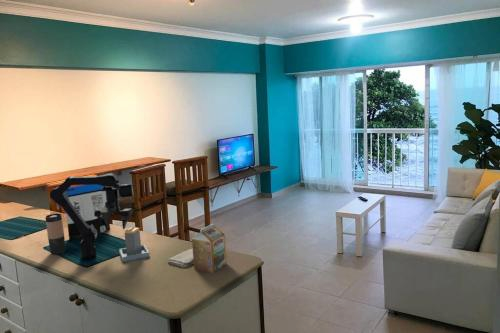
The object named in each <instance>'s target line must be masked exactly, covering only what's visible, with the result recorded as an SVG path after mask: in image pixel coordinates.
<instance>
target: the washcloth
mask: <svg viewBox="0 0 500 333" xmlns="http://www.w3.org/2000/svg"><path fill="white" fill-rule="evenodd" d="M167 261H168V262H167V263H168V264H170V265H171V266H177V267H181V268H187V267H190V266H191V265H194V260H193V248H190V249H187V250H184V251H182V252H180V253H178V254H177V255H176V254H175V255H174V256H172V257H169V258H168V259H167Z"/></svg>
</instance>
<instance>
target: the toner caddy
mask: <svg viewBox="0 0 500 333" xmlns="http://www.w3.org/2000/svg"><path fill="white" fill-rule="evenodd" d="M124 241H125V248H126V253H127V256H129V255H134V254H139V253H141V252H142V251H141V245H142V243H141V241H142V240H141V232H140V228H139V227H135V226H132V227H129V228H127V229H126V230H124Z"/></svg>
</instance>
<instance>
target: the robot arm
mask: <svg viewBox="0 0 500 333" xmlns="http://www.w3.org/2000/svg"><path fill="white" fill-rule="evenodd" d="M94 184H97V185H101V186H104V187H103V188H102V190H101V191H105V192H106V201H107V202H105V207H104V208H100V209H98V210H96V211H95V212H94V216H95V217H97V218H99V219H101V220H102V222H103V224H104V226H105V227H106V229H108V217H109V218H111V217H112V216H113V215H120V216H121V217H120V219H121V223H122V224H121V225H122V230H125V229H126V226H127V223H128V220H129V218H130V217H131V216H133V214H134V209H133V208H124V209H122V208H121V207H120V201H121V199H126V198H133V197H134V188H133V183H126V184H122V183H121V182H120V181H119V179H118V178H117V175H115V174H114V173H113V172H110V173H106V174H105V173H104V174H101V175H94V176H93V175H90V176H89V175H87V176H86V175H85V176H84V175H83V176H72V175H71V176H68V177H66V178H65V180H64V181H63V182H62V183H61V184H60V185H59V186H56V187H55V188H53V189H52V190H50V192H49V197H50V199H51V200H52V201H53V202H54V203H55V204H57V205H58V206H60V207H61V208H62V209H63V211H64V212H65V214H66V213H67V214H68V216H69V217H70V218H71V220H72V221H73V222H74V224H75V225H76V226H77V227H78V229H79V231H80V234H81V237H82V238H81V241H80V242H79V244H78V246H79V248H80V254H81V256H80V257H81V261H84V260H89V259H96V256H97V248H96V245H95V244H94V242H95V241H96V240H97V237H98V235H97V232H96V231H97V230H96V229H95V228H94V226H93V224H92V225H91V226H89V225H88V224H87V223H86V222H85V221H84V220H83V218H82V217H81V216H80V214H79V213H78V212H77V210H76V209H75V208H74V206H73V205H72V204H71V202H70V201H69V198H68V195H67V193H66V190H67V189H68V188H69V187H72V186H80V185H94ZM119 197H120V198H121V199H119ZM121 209H122V210H121Z"/></svg>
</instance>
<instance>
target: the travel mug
mask: <svg viewBox="0 0 500 333" xmlns="http://www.w3.org/2000/svg"><path fill="white" fill-rule="evenodd" d="M45 224H46V231H47V239H48V245H49V246H48V247H49V251H50V255H55V256H57V254H58V255H62V254H65V253H66V251H67V250H66V239H65V232H64V226H63V225H64V223H63V217H62V214H61V213H50V214H47V215H46V216H45ZM61 253H62V254H61Z"/></svg>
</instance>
